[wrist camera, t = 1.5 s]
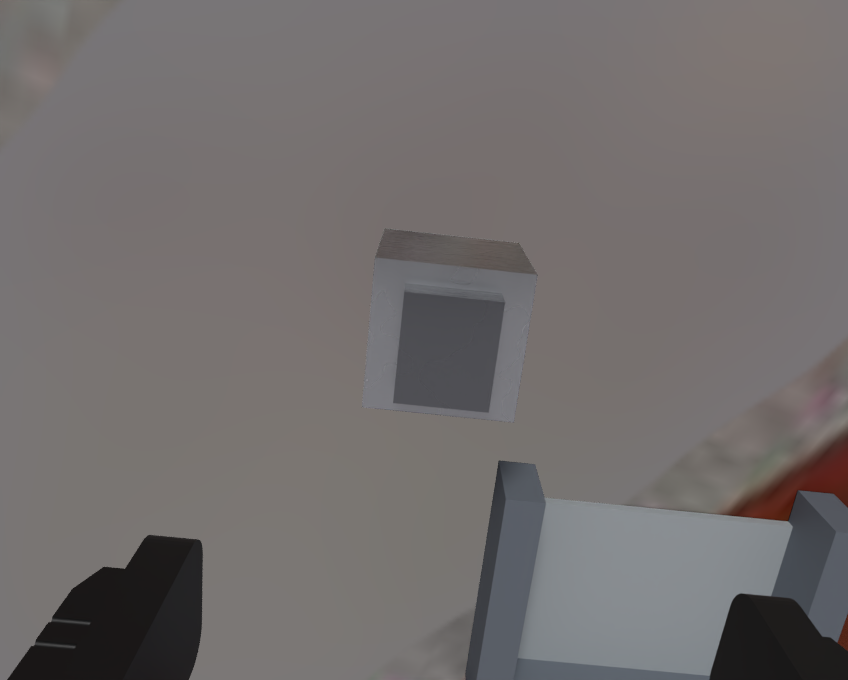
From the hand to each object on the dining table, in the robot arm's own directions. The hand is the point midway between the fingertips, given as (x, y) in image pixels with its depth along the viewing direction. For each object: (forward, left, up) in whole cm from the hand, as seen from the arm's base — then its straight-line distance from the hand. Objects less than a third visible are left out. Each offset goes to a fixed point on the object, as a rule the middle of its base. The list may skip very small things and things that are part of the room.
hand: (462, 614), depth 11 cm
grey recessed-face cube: (0, 0, -18) cm, 18 cm away
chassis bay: (-10, +12, -18) cm, 24 cm away
